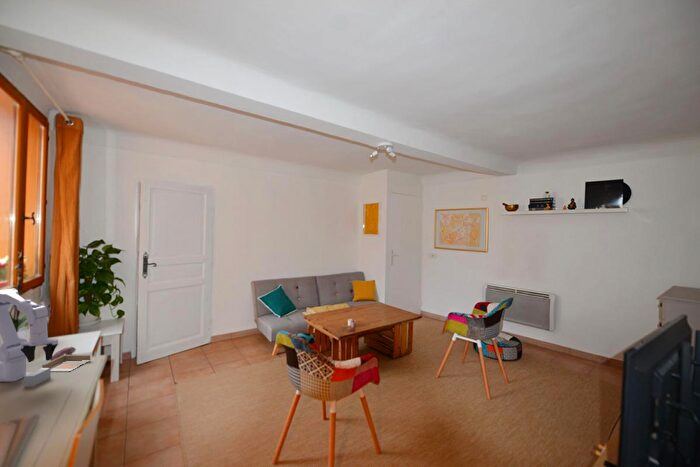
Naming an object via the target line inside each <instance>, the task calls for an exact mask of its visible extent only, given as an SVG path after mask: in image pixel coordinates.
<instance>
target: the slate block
mask: <svg viewBox="0 0 700 467" xmlns="http://www.w3.org/2000/svg"><path fill="white" fill-rule="evenodd" d="M51 377H52V376H51V372H50V368H42V367H41V368H39V369H37V370H35V371H31V373H30V374H28V375H26V376H25V377H24V387H29V388H30V387H32V388H33V387H35V386H37V385H40V384H41V383H43V382H45V381H47V380H49V379H51Z"/></svg>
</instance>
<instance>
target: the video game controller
mask: <svg viewBox="0 0 700 467" xmlns="http://www.w3.org/2000/svg"><path fill="white" fill-rule="evenodd" d="M76 349H77V348H75V347H73V346H70V347H67V346H66V347H64V348H62V349H61V350H58V351H57V352H55V353H53V356H52V359H50V360H49V361H52V360H54V359H57V358H59V357H61V356H63V355H73V353H75V352H76Z"/></svg>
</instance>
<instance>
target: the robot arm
mask: <svg viewBox="0 0 700 467" xmlns="http://www.w3.org/2000/svg"><path fill="white" fill-rule="evenodd" d="M13 305H14V306H16V310H17V311H18V312H21V313H22V314H24V315H25V318H26V320H27V324H28V325H29V339H30V341H29V340H27V339H25V338H20V337H19V335H18V332H17V330H16V327H15V324H14V322H13V320H12V317H11V315H10V312H9V308H10V307H12V306H13ZM50 313H51V310H50V307H49V306H47V305H46V304H45V305H42V304H41V305H40V304H38V303H36V302H35V301H33V300H32V299H25V298H23V297H22V296H21V295H20V294H19V291H18V289H16V288H14V287H11V288H7V289H0V337H1V339H2V344H0V382H17V381H19V380H22V379H23V378H25V376H26V375H28V374H30V373H32V371H31V372H27V363H31V362H34V361H35V358H36V357H35V352H36V347H37V346H42V350H43V351H44V354H45V360H46V361H48V362H49V361H51V360H50V359H52V356H53V355H54V352H55V350H56V348H57V346H58V345H59V339H52V338H51V339H50V338H49V337H48V335H49V334H48V317H49V316H50ZM27 361H28V362H27Z"/></svg>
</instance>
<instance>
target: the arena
mask: <svg viewBox="0 0 700 467" xmlns="http://www.w3.org/2000/svg"><path fill="white" fill-rule="evenodd" d="M82 360H90V361H91V354H71V355H65V354H64V355H63V356H61V357H59V358H57V359H54V360H52V361H51V360H49V361H48V362H46V363H43V364H42V366H41V368H50V373H51V372H53V373H55V372H56V373H59V372H60V373H61V372H62V373H68V371H71V372H73V371H74V370H73V369H75V368H76V369H78V368H77V365H76V366H75V365H73V366H72V365H70V364H64V363H63V362H66V361H82ZM76 369H75V370H76ZM72 370H73V371H72ZM65 371H66V372H65Z"/></svg>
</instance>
